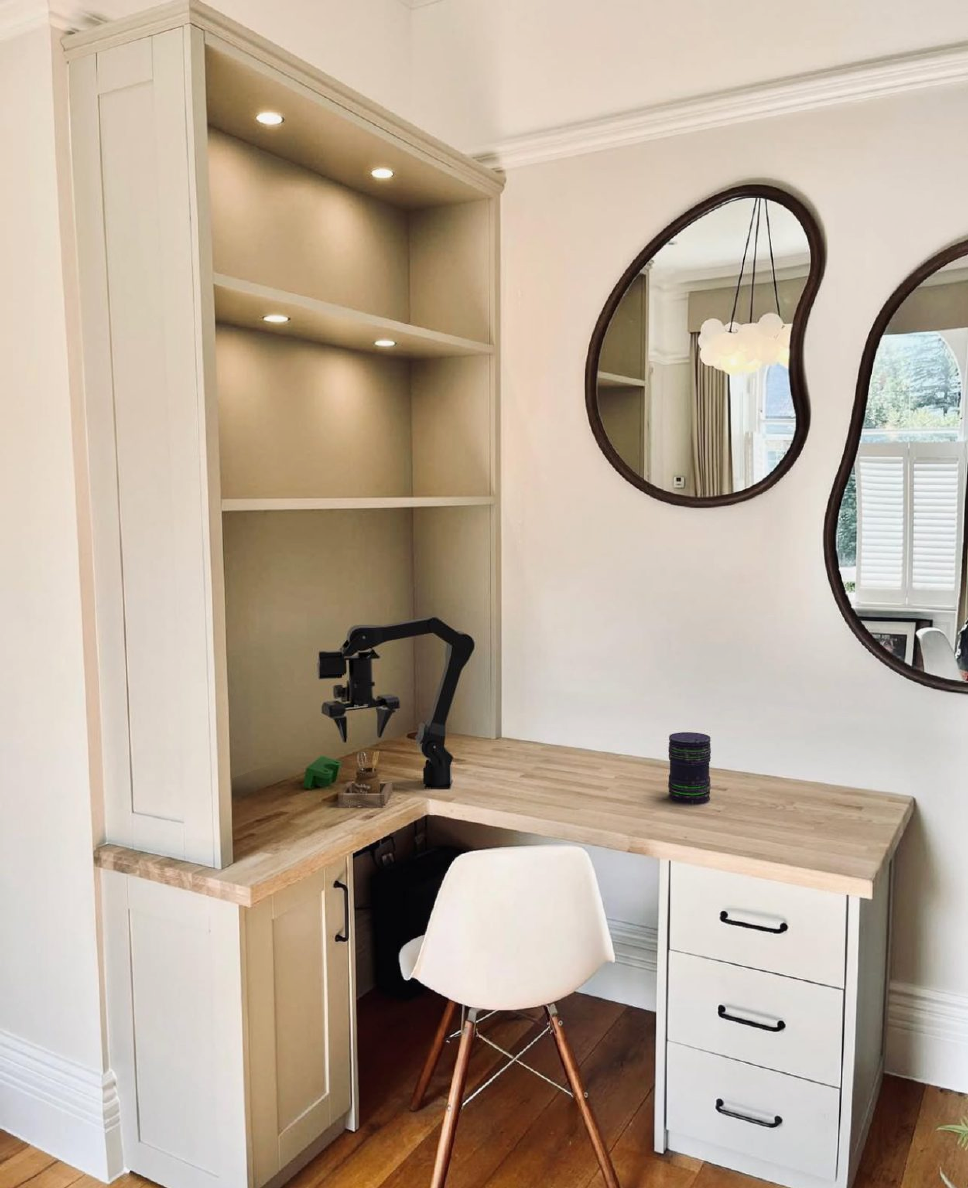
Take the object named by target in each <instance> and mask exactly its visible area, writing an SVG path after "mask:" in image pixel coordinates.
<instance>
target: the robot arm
mask: <svg viewBox="0 0 968 1188" xmlns="http://www.w3.org/2000/svg"><path fill="white" fill-rule="evenodd" d="M428 634H434V635H436V637H438V638H439V639H441V640H442V641H443V642H445V653H444V654H445V656H444V657H445V661H444V663H445V664H444V668H443V671H442V675H441V678H440V682H439V685H438V688H437V691H436V694H435V698H434V702H433V705H432V708H431V711H430V715H429V718H428V719H427V720H426V722H425V723H422V722H419V724H418V731H417V734H416V735H415V737H414V738H415V739H416V746H417V748H418V750H419V751H420V752H421V754H422V755H423V756H424V757H426V761H425V765H424V766H423V767H422V768H423V769H422V775H423V776H422V777H423V781H422V782H423V784H424V789H451V787H452V786H453V783H454V780H453V776H452V771H453V769H452V762H453V759H454V756H453V755H452V754H451V752H450V751H449V750H448V749H447V748H446V747H445V745H446V743H445V742H446V723H447V721H448V716H449V713H450V710H451V706H452V702H453V700H454V697H455V694H456V690H457V687H458V683H459V681H460V677H461V675H462V671H463V669H464V667H466V665H467V663H469V660H470V658H471V656H472V654H473V653H474V650H475V641H474V639H473V637H472V636H471V635H469V634H467V633H466V632H464V631H460V630H455V629H454V628H452V626H451V627H450V626H449V625H448V624H446V623H445V622H444V621H442V619H441V618H439V617H438V616H435V615H429V616H427V617H421V618H417V619H410V620H405V621H400V622H393V623H389V624H383V625H382V624H381V625H378V624H376V625H375V624H355V625H353V626H351V627H349V629H348V631H347V634H346V639H345V641H344V642H343V644H342V645H341V647H340V648H339V650H332V651H331V650H330V651H328V650H327V651H325V650H319V651H318V653H317V654H318V657H317V663H316V666H317V678H318V680H333V679H342V678H343V676H345V675H347V671H348V679H346V680H347V681H346V686H345V687H344V686H343V684H336V685H333V687H332V688H333V690H332V693H333V698H334V699H335V700H330V701H324V702H322V705H321V714H322V715H324V716H327V718H329V719H332V720H333V721H334V723H335V725H336V727H337V729H338V733H339V734H340V737H341V740H342V742H343V743H344V744H346V743H347V739H348V731H347V730H348V724H347V723H348V720H347V719H348V717H347V716H345V714H346V712H347V711H351V712H352V711H356V710H357V711H358V710H364V709H373V708H375V711H376V715H377V720H376V723H377V724H376V734H377V735H376V736H377V738H378V739H381V737H382V736H383V733H384V731H385V729H386V726H387V724H388V722H389V720H390V718H391V716H392V715H393V714H394V713H397V711H396V709H398V710H399V709H400V708H401V700H400V698H399V697H398V696H396V695H394V694H390V693H388V694H380V695H379V694H378V695H377V696H376V699H375V698H374V693H373V692H374V690H373V688H374V687H375V685H376V682H375V681H373V660H377V659H380V658H381V656H380V654H379V653H377V652H376V651H375V649H374V648H376V647H378V646H380V645H382V644H384V643H386V642H391V641H396V640H400V639H402V640H403V639H406V638H412V637H418V636H423V635H428ZM355 654H356V655H355ZM347 661H348V666H347ZM347 667H348V669H347ZM336 699H340V701H339V700H336ZM346 702H347V703H346Z"/></svg>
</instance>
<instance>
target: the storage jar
mask: <svg viewBox="0 0 968 1188" xmlns="http://www.w3.org/2000/svg"><path fill="white" fill-rule="evenodd" d="M668 740H669V742H668V760H669V775H668V785H667V786H668V793H669V794H668V800H670V802H673V803H676V804H681V805H686V806H687V805H688V806H694V805H696V806H697V805H698V806H699V805H705V804H708V803H709V802H710V801H711V796H710V794H711V787H712V786H711V776H710V762H711V758H712V756H711V753H712V752H711V751H712V750H711V749H712V748H711V740H712V738H711V736H710V735H708V734H705V733H700V732H692V731H690V732H687V731H685V732H684V731H683V732H675V733H670V734H669V735H668Z"/></svg>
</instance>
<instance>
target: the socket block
mask: <svg viewBox="0 0 968 1188" xmlns="http://www.w3.org/2000/svg"><path fill="white" fill-rule="evenodd" d="M391 795H393V781H380V794H368V793H355V781H347V782H346V783H345V784H344V786H343V787H342V788H341V790H340V792H339V793H338V795H337V802H338V808H351V807H358V806H361V807H383V806H386V807H387V805H388V803H389V801H390V800H391V798H390V796H391ZM391 797H392V796H391ZM388 800H389V801H388ZM386 804H387V805H386ZM349 806H350V807H349Z"/></svg>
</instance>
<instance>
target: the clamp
mask: <svg viewBox="0 0 968 1188" xmlns="http://www.w3.org/2000/svg"><path fill="white" fill-rule="evenodd" d="M342 763H343V762H342V761H340V760H336V759H332V758H330V757H327V756H322V755H321V756H320V757H318V758H317V759H316V760H313V762H312V763H310V765H308V766H307V767H306V768H305V773H304V777H303V782H302V788H303V789H308V790H313V787H314V786H315V787H316V786H319V787H323V788H326V787H331V783H332V782H333V783H337V781H338V776H339V771H340V770H341V769H342V766H343V765H342ZM315 787H314V788H315Z"/></svg>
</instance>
